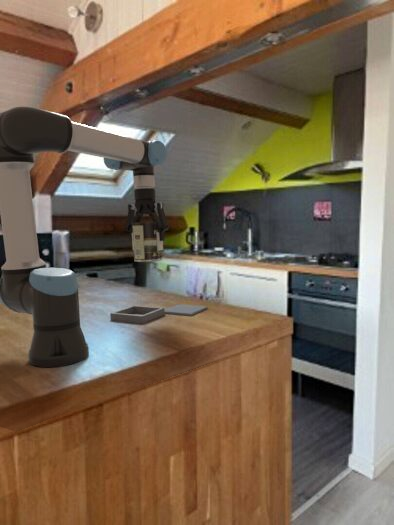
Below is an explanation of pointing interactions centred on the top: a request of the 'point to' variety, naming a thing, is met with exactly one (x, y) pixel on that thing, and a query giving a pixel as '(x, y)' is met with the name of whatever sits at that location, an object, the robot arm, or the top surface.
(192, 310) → the slate mat
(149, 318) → the collar
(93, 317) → the top surface
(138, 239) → the coffee can
